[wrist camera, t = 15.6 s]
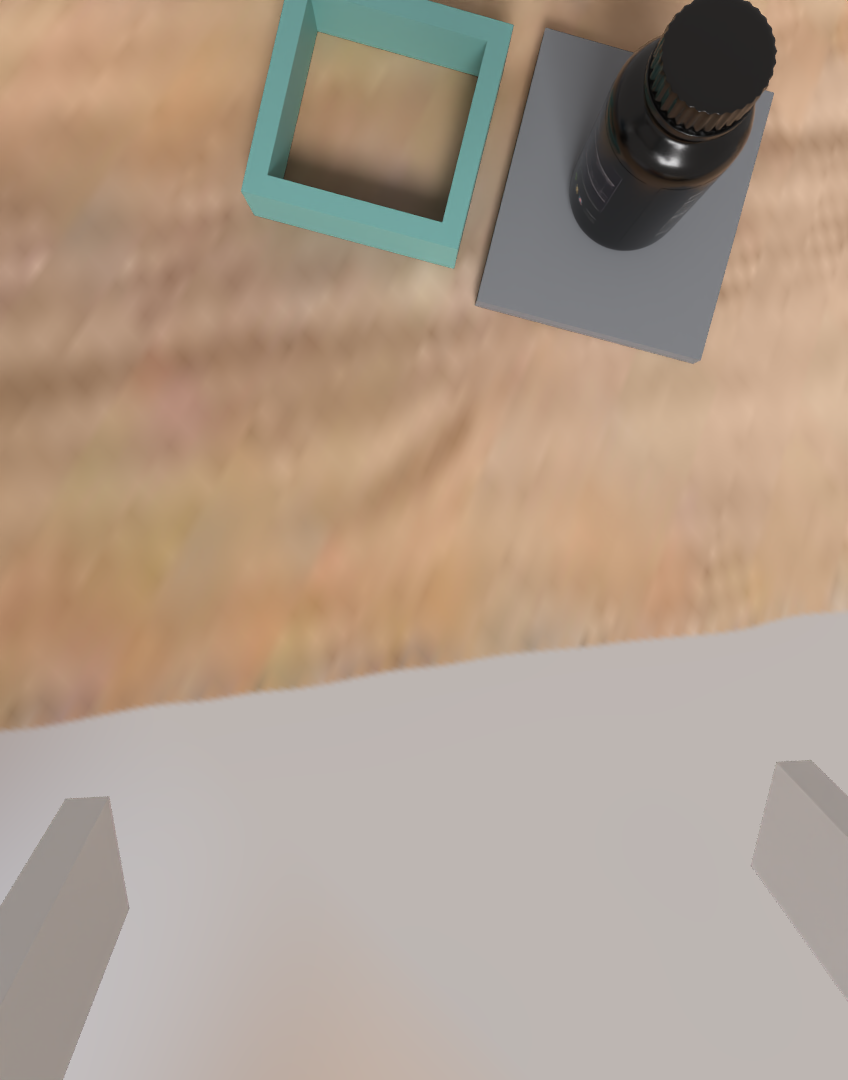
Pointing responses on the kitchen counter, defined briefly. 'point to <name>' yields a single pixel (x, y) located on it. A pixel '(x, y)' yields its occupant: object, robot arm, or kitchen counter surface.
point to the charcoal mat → (577, 261)
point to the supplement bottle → (672, 123)
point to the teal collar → (400, 27)
